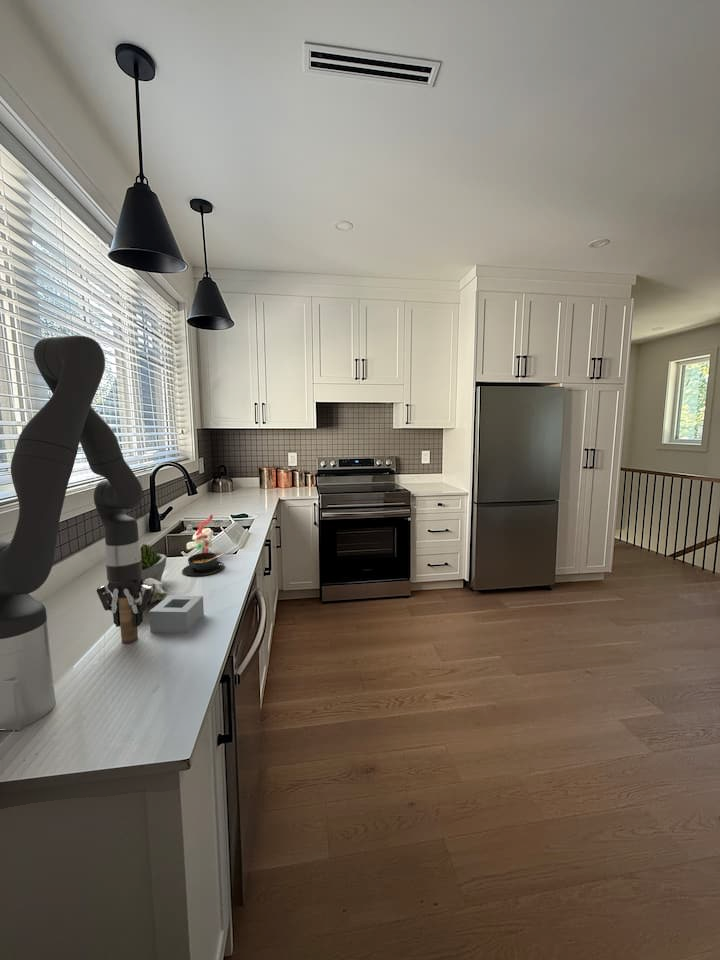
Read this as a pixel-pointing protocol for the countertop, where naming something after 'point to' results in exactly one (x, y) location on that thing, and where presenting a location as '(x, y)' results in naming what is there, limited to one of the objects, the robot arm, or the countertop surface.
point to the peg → (127, 622)
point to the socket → (176, 614)
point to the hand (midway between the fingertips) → (128, 625)
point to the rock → (158, 591)
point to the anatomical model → (202, 537)
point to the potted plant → (152, 563)
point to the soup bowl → (203, 564)
